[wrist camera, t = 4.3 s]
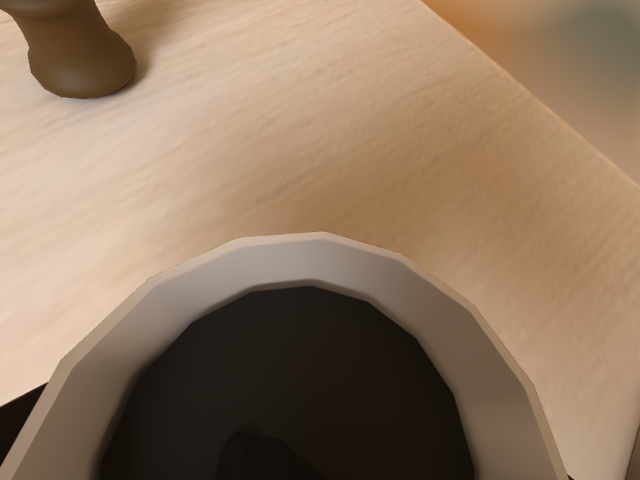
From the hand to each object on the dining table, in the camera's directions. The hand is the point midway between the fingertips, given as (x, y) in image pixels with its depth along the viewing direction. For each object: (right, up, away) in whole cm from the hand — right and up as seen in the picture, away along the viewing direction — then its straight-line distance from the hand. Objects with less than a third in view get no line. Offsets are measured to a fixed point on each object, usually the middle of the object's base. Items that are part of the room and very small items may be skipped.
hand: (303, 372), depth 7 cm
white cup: (-1, -4, +6) cm, 7 cm away
